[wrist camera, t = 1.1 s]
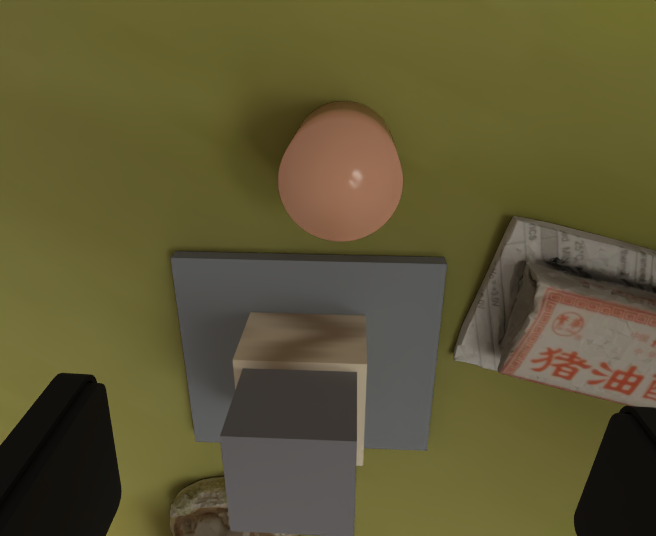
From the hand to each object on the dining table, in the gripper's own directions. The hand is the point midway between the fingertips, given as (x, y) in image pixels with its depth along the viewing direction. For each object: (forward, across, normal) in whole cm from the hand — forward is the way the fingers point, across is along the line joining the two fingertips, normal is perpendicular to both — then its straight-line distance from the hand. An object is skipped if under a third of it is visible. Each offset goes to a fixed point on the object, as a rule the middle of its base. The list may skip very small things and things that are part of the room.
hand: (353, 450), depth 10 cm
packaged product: (+21, -17, +8) cm, 28 cm away
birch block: (+20, +1, +12) cm, 23 cm away
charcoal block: (+15, +2, +12) cm, 19 cm away
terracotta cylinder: (+21, 0, -1) cm, 21 cm away
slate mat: (+21, +1, +12) cm, 24 cm away
